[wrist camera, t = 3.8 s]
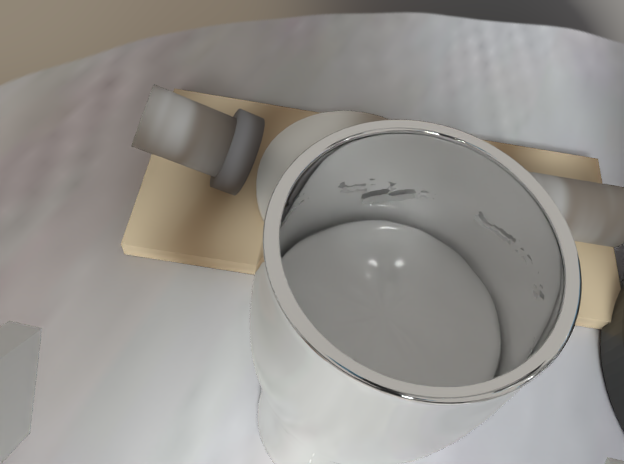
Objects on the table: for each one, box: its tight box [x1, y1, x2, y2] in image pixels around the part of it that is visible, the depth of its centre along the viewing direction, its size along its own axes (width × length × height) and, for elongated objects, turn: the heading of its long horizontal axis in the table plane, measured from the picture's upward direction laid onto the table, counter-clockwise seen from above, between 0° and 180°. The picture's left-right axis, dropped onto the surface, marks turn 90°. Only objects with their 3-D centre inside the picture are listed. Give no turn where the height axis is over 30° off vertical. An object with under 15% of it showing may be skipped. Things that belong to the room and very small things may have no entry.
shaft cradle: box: [121, 84, 624, 329], centre depth 28 cm, size 24×10×6 cm, turn 83°
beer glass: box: [249, 119, 582, 464], centre depth 18 cm, size 7×7×15 cm
